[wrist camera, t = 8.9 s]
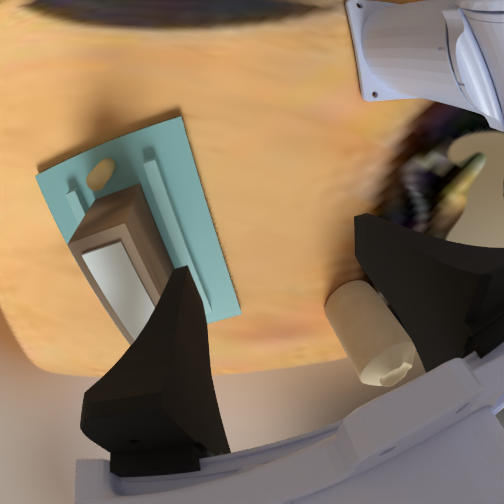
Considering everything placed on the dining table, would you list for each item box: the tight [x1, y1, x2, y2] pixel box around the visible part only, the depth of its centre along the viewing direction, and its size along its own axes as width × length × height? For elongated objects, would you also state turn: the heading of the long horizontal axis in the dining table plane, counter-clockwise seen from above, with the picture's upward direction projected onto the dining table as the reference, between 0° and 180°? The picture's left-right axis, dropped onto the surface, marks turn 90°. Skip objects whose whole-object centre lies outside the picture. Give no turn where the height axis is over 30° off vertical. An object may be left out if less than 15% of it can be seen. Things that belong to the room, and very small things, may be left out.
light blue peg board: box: [35, 116, 242, 343], centre depth 20 cm, size 11×17×4 cm, turn 12°
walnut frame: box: [67, 183, 175, 345], centre depth 19 cm, size 4×10×6 cm, turn 12°
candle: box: [325, 280, 415, 387], centre depth 25 cm, size 6×6×10 cm
